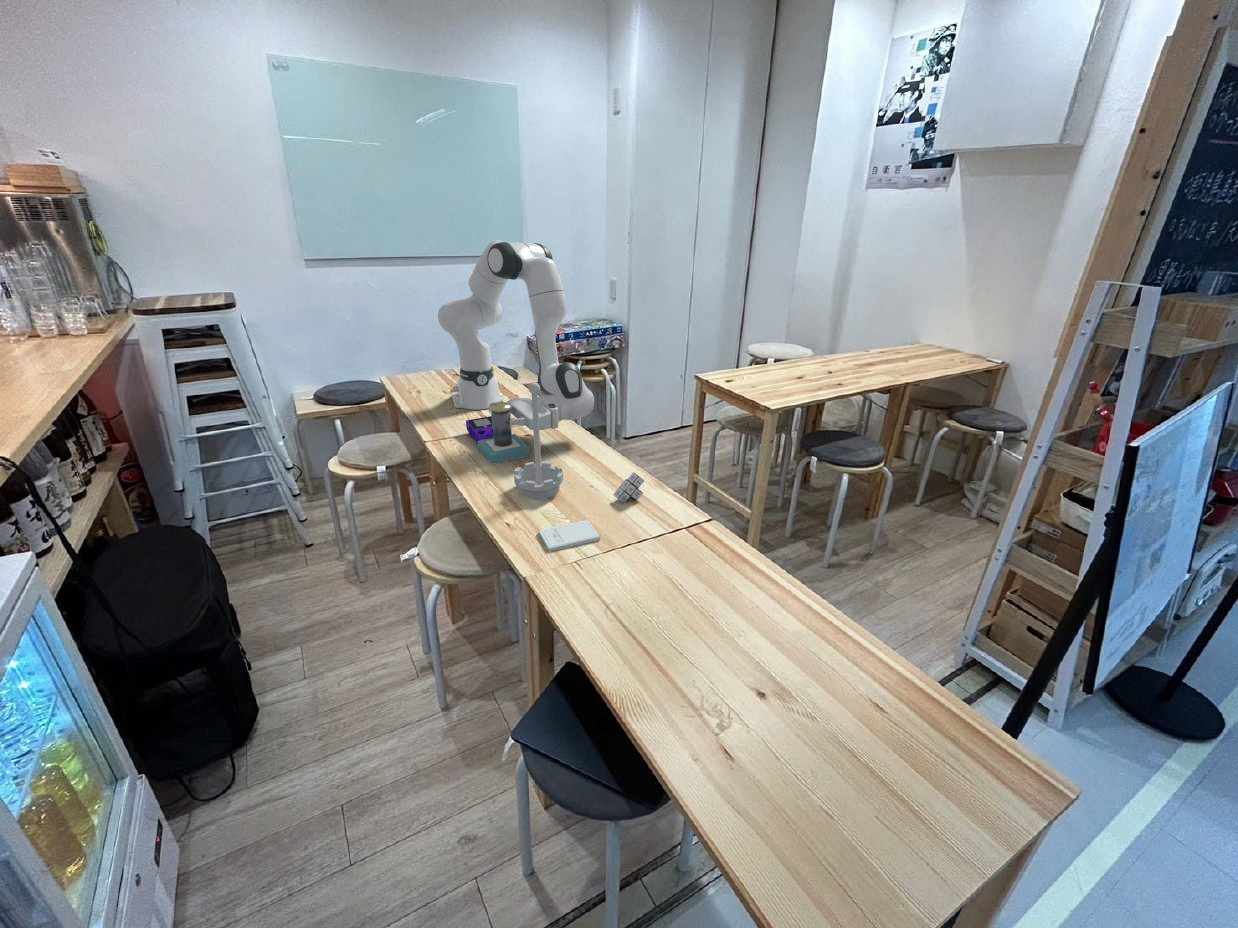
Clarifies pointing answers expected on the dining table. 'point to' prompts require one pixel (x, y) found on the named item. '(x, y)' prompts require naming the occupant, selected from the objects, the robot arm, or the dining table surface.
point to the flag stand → (538, 464)
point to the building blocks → (629, 488)
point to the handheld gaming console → (480, 428)
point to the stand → (503, 450)
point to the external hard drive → (568, 535)
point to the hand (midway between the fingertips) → (503, 417)
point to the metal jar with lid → (501, 423)
